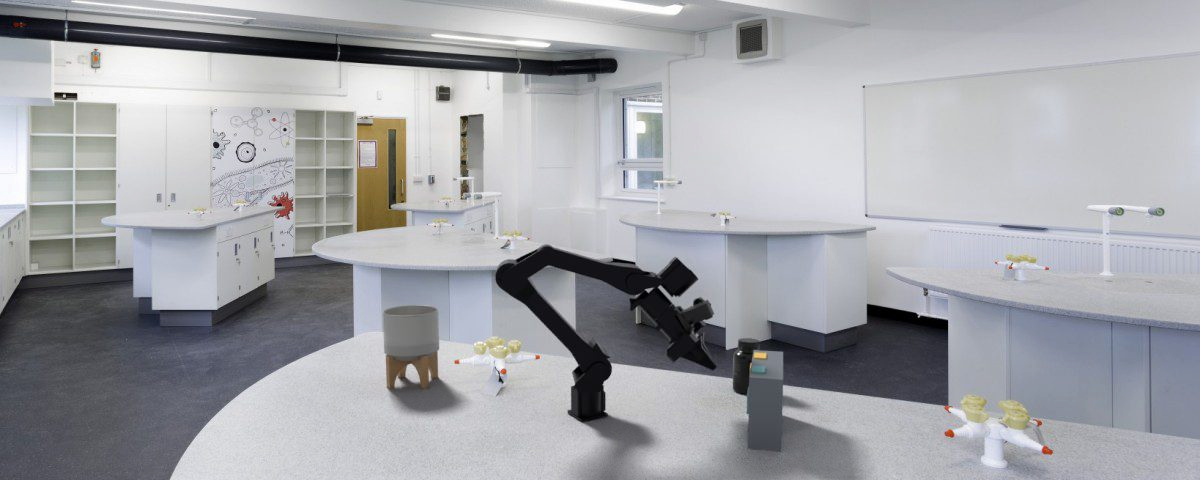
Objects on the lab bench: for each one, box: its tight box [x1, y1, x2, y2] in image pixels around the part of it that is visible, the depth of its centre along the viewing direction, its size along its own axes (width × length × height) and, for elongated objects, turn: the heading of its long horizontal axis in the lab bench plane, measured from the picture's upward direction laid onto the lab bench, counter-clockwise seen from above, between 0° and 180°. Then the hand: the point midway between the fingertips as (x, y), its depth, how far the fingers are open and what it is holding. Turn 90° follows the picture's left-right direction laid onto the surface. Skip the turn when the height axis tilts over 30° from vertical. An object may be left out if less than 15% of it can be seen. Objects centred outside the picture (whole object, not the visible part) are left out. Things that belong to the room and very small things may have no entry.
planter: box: [382, 304, 440, 389], centre depth 171 cm, size 13×13×18 cm
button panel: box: [747, 349, 784, 452], centre depth 139 cm, size 6×20×14 cm, turn 166°
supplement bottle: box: [732, 337, 760, 395], centre depth 164 cm, size 7×7×12 cm
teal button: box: [746, 387, 749, 415], centre depth 135 cm, size 4×4×4 cm
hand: (715, 368), depth 146 cm, fingers closed
